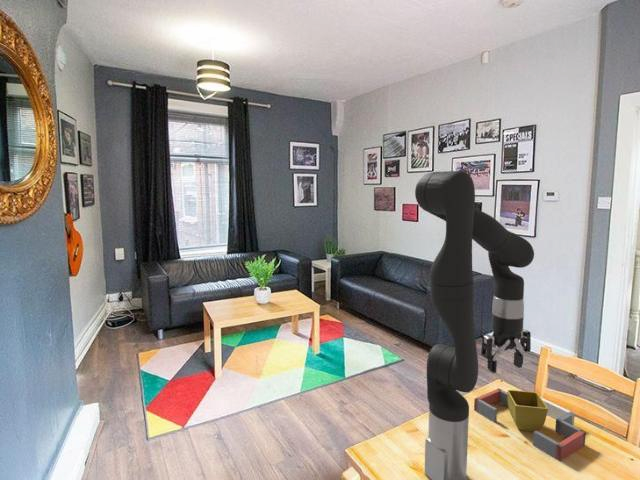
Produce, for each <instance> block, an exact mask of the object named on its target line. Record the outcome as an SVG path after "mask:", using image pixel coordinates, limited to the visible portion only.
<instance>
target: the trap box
mask: <svg viewBox="0 0 640 480" xmlns="http://www.w3.org/2000/svg"><path fill="white" fill-rule="evenodd" d="M541 399H542V400H543V401H544V403H545V404H546V406H547V407H548V412H547V416H549V417H551V418H553V419H555V430H554V431H555V433H557V434H558V435H560V436H561V437H563V438H565V439H563V440H562V441H560V442H558V441H557V440H556V441H555V440H554V439H553V438H551V437H549V436H548V435H546V434H544V433H542V432H541V431H539V430H538V431H533V437H532V439H533V440H532V446H534V447H535V448H537V449H539V450H540V451H542V452H544V453H545V454H547V455H549V456H550V457H552V458H554V459H555V460H556V461H558V462H561V461H563V460H565V459H567V457H569V456H570V455H572V454H573V453H575V452H577V451H578V450H579V449H581V448H582V447H584V446H585V444H586V434H587V433H586V430H583V429H581V428H580V427H578V426H575V417H576V416H575V415H576V413H575V412H572V411H570V410H568V409H567V408H564V407H562V406H560V405H558V404H555V403H554V402H551V401H550V400H547V399H545V398H543V397H541ZM473 402H474V403H473V405H474V406H473V407H474V408H473V410H474V411H475V412H476V413H478V414H480V415H482V416H484V418H486V419H488V420H490V421H492V422H493V423H495V422H497V417H498V416H497V415H498V408H497V407H494V406H493V405H496V404H498V403H500V404H502V405H504V406H506V407H508V396H507V391H506V390H503V389H501V388H497V389H494V390H492V391H489V392H487V393H485V394H482V395H479V396H477V397H475V398H474V401H473Z"/></svg>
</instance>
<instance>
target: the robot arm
mask: <svg viewBox="0 0 640 480" xmlns="http://www.w3.org/2000/svg"><path fill="white" fill-rule="evenodd" d="M414 196H415V199H416V202H417V204H418V206H419V207H420V208H421V209H422V210H423V211H424V212H427V213H429V214H431V215H433V216H434V217H437V218H439V219H441V220H442V221H444V222H445V238H444V242H443V244H442V247H441V249H440V250H439V252H438V253H437V256H435V258H434V261H433V262H432V264H431V267H430V270H429V288H430V289H429V290H430V291H429V292H430V299H431V303H432V305H433V307H434V309H435V311H436V312H437V314H438V315H439V317H440V319H441V320H442V322H443V324H444V325H445V327H446V329H447V330H448V332H449V334H450V336H451V338H452V339H451V340H452V342H453V346H450V345H447V344H444V343H437V344H435V345H433V346H432V347H431V349H429V353H428V356H427V359H426V360H427V362H426V388H427V389H426V392H427V393H426V395H427V396H426V398H427V402H428V431H427V433H428V437H427V438H425V439H424V440H425V442H424V445H425V446H424V475H426V476H427V477H428V478H429V479H431V480H467V466H468V463H467V462H468V444H469V443H468V442H469V441H468V440H469V423H470V421H469V420H470V404H469V401H468V400H467V399H466V398H465V396H463V395H462V394H461V393H460V392H462V393H470V392H472V391H473V390H474V389H475V387H476V385H477V381H478V377H479V360H478V359H479V358H478V350H477V343H476V333H475V323H474V322H475V321H474V320H475V318H474V315H475V314H474V272H473V241H474V242H475V243H476V244H478V245H479V246H480V247H481V248H482V249H484V250H485V251H486V252H487V253H488V254H487V255H488V256H487V257H488V262H489V264H490V268H491V274H492V276H493V283H494V284H493V285H494V287H493V288H494V289H493V299H492V308H491V309H492V311H491V328H492V331H493V332H492V335H486V334H483V335H482V338H481V339H482V340H481V351H480V355H481V356H482V357H483V358H485V359H486V360H487V370H488V371H489V372H490V373H492V374H495V373H497V366H498V365H497V363H498V360H497V359H498V358H499V356H501V355H502V354H503V353H504V351H508V350H514V351H515V352H513V353H514V354H513V365H514V366H515V367H517V368H518V369H520V368H522V367H523V365H524V355H525V354H526V353H527V352H528V353H529V352H531V349H532V348H531V347H532V346H531V345H532V344H531V343H532V342H531V335H532V334H531V333H532V332H531V331H529V330H527V329H525V328H524V316H525V313H524V312H525V303H524V297H525V296H524V294H525V293H524V292H525V280H524V278H523V277H522V276H521V275H519V274H516V273H515V272H513V271H512V270H511V269H510V267H513V268H520V269H521V268H525V267H528V266H529V265H531V264H532V262H533V261H534V257H535V251H534V248H533V246H532V244H531V243H530V242H529V241H528V240H527V239H525V238H523V237H522V236H520V235H518V234H516V233H514V232H512V231H510V230H507V229H506V227H505V226H503V224H502V223H500V222H499V221H498V220H497V219H496V218H494V217H493V216H491V215H490V214H488V213H487V212H484V211H482V210H480V209H477V208H475V205H476V203H475V201H476V191H475V183H474V180H473V179H472V176H471V175H470V174H469V173H468V172H466V171H464V170H451V171H450V170H448V171H444V170H443V171H433V172H428V173H426V174H425V173H424V174H423V175H422V176H421V177H420V178H419V179H418V181H417V183H416V185H415V189H414ZM496 347H497V348H496Z"/></svg>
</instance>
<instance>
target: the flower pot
mask: <svg viewBox="0 0 640 480" xmlns="http://www.w3.org/2000/svg"><path fill="white" fill-rule="evenodd" d="M506 392H507V396H508V406H507V407H508V410H509V413H510V416H511V418H512V420H513V422H514V424H515V426H516V427H517V429H518V431H519V430H520V431H524V432H525V431H528V432H534V431H538V432H539V430H541V429H542V428H543V427H544V425H545V422H546V419H547V416H548V415H547V412H548V407H547V406H546V404H545V403H544V401H543V400H542V399H541V398H542V397H541V396H540V394H539V393H538V392H536V391H528V390H526V391H525V390H515V389H514V390H513V389H507V390H506Z"/></svg>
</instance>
